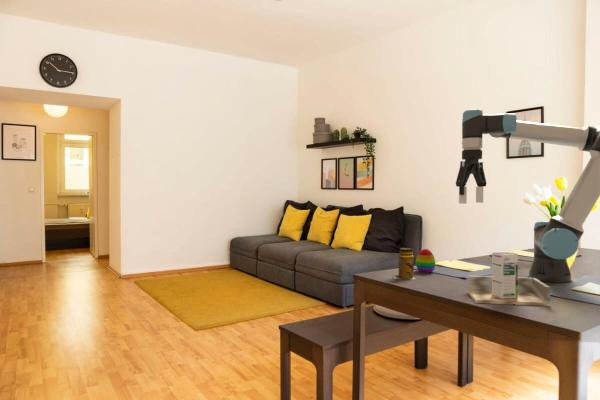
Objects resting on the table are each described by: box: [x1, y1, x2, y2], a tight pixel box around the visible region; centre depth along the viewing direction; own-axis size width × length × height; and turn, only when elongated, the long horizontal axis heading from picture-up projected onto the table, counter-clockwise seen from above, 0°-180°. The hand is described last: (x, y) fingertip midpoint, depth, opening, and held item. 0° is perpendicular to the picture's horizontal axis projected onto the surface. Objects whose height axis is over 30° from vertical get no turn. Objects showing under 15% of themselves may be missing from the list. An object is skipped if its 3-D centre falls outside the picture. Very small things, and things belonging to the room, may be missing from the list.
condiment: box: [392, 247, 416, 280], centre depth 183 cm, size 7×8×12 cm
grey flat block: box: [467, 275, 551, 307], centre depth 149 cm, size 22×14×6 cm, turn 80°
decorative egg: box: [415, 248, 436, 274], centre depth 195 cm, size 8×8×10 cm
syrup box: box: [491, 251, 519, 299], centre depth 147 cm, size 6×6×14 cm
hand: (471, 203), depth 177 cm, fingers open, 13 cm apart
